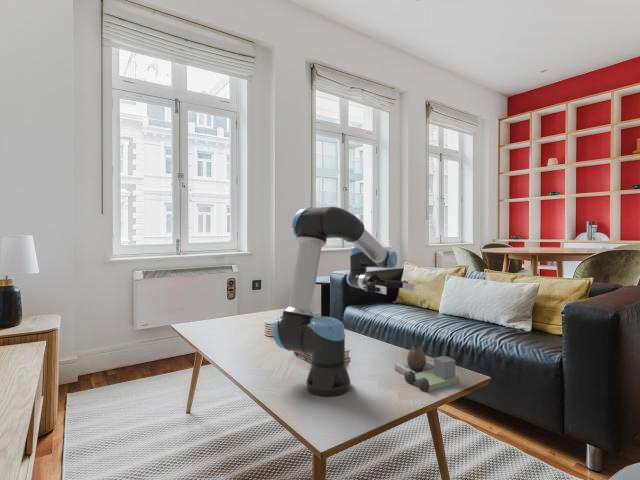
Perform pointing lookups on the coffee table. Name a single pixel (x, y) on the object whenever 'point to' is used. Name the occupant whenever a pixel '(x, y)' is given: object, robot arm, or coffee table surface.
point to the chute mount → (406, 368)
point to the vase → (416, 358)
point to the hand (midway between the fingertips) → (400, 289)
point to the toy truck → (435, 375)
